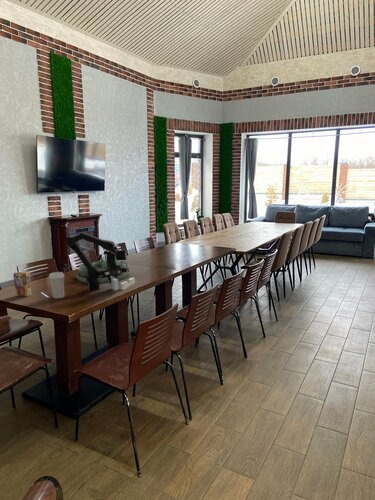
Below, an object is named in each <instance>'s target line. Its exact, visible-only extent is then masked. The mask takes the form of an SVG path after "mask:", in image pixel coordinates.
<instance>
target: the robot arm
mask: <svg viewBox="0 0 375 500" xmlns="http://www.w3.org/2000/svg"><path fill="white" fill-rule="evenodd" d="M81 240H84V241H86V242H90V243H92V244H95V245H97V246H99V247H101V248H102V249H103V250H104V251H103V253H102V255H105V256H106V258H105V260H106V259H107V270H103V269H101V270H100V269H99V268H98V266H97V265H96V266H94V265H93V264H92V263H93V262H91V260H90V259H89V257H88V256H87V254H86V253H85V252H84V250H83V249H82V247H81V245H80V242H79V241H81ZM65 245H66V246H67V247H68V248H70V249H71V250H72V251H73V252H74V253H75V254H76V255H77V257H78V258H79V259H80V261H81V262H82V265H83V264H84V265H85V266H86V268H87V271H88V274H89V277H88V278H87V279H86V280H87V282H88V283H87V291H89V292H93V291H97V290H100V283H99V282H98V280H97V279H98V277H99V276H101V275H105V276H107V278H108V280H109V282H108V283H109V284H111V279H110V274H109V273H111V274H114V277H115V278H116V279H117V276H118V275H119V274H120V271H121V272H122V273H123V272H127V269H126V266H125V267H121V266H120V265H118V266H117V265H116V260H115V254H116V259H117V260H121V261H127V260H128V259H127V258H128V253H127V249H118V247H117V246H116V244H115V242H114V241H113V240H107V239H102V238H99V237H96V236H94V235H92V234H88V233H86V232H80V233H78V234H77V235H70V236H68V237H67V238H66V239H65Z"/></svg>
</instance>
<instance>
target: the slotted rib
mask: <svg viewBox="0 0 375 500" xmlns="http://www.w3.org/2000/svg"><path fill="white" fill-rule="evenodd" d="M134 284H136V278H135V277H131V278H128V279H127V280H124V281H123V282H121V283H120V290H122V291H123V290H126V289H127V288H129V287H131V286H133V285H134Z"/></svg>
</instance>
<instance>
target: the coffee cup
mask: <svg viewBox="0 0 375 500" xmlns="http://www.w3.org/2000/svg"><path fill="white" fill-rule="evenodd" d="M65 276H66V275H65V274H64V272H63V271H55V272H51V273H49V275H48V279H49V283H50V287H51V292H52V297H53V299H61V298H64V297H65Z"/></svg>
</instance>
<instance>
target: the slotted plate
mask: <svg viewBox="0 0 375 500" xmlns="http://www.w3.org/2000/svg"><path fill="white" fill-rule="evenodd" d="M110 279H111V284H110V283H109V284H110V286H111V288H113V290H119V280H117V279H116V278H115V277H114V276H111V277H110Z"/></svg>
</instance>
